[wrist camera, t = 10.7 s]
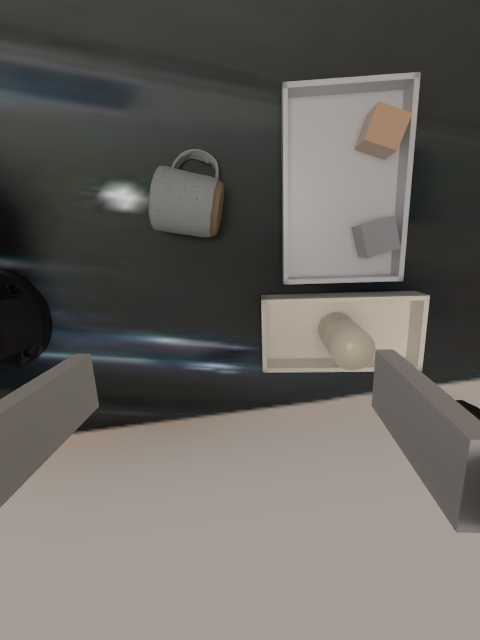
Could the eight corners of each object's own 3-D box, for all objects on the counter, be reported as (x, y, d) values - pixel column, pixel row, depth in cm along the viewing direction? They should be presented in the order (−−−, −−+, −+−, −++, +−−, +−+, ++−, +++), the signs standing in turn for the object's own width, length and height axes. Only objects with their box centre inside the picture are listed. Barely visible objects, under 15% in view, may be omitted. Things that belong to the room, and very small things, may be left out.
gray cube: (358, 256, 43) (367, 257, 39) (351, 226, 42) (360, 225, 39) (388, 247, 43) (400, 248, 39) (382, 217, 42) (394, 215, 38)
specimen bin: (262, 361, 48) (262, 372, 44) (261, 294, 46) (261, 299, 42) (408, 360, 47) (422, 371, 43) (415, 290, 44) (429, 295, 40)
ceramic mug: (220, 240, 44) (212, 238, 37) (162, 231, 44) (143, 228, 37) (231, 157, 42) (225, 138, 34) (170, 148, 42) (151, 127, 35)
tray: (282, 281, 45) (283, 284, 42) (281, 93, 39) (282, 82, 37) (393, 278, 44) (403, 281, 41) (408, 84, 38) (420, 72, 35)
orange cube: (354, 149, 40) (363, 139, 36) (366, 114, 39) (378, 101, 35) (384, 159, 40) (397, 150, 36) (397, 125, 39) (412, 112, 35)
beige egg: (318, 312, 45) (332, 329, 37) (354, 311, 45) (377, 329, 36) (317, 345, 47) (330, 370, 38) (352, 345, 46) (373, 370, 37)
